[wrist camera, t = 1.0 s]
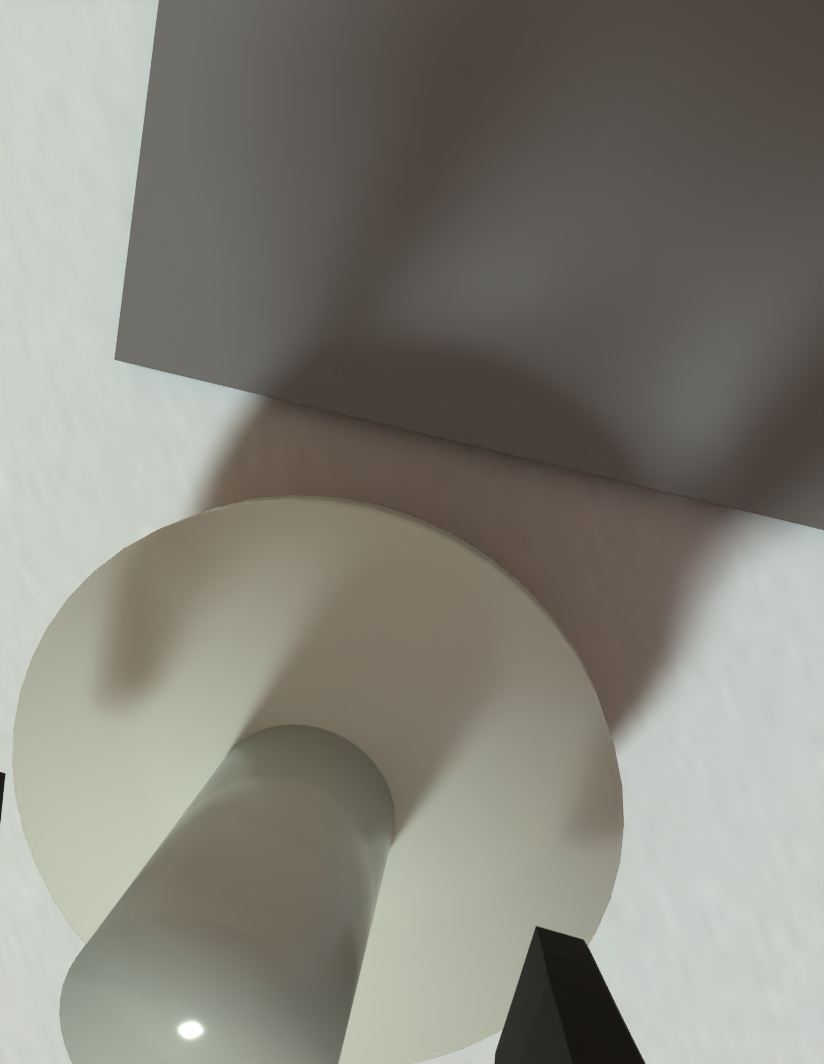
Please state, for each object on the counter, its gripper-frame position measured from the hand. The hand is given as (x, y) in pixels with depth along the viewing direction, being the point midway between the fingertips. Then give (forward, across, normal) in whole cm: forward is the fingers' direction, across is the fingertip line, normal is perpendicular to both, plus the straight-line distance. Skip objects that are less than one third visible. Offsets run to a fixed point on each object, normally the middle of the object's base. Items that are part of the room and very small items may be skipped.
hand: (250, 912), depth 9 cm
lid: (+3, 0, 0) cm, 3 cm away
